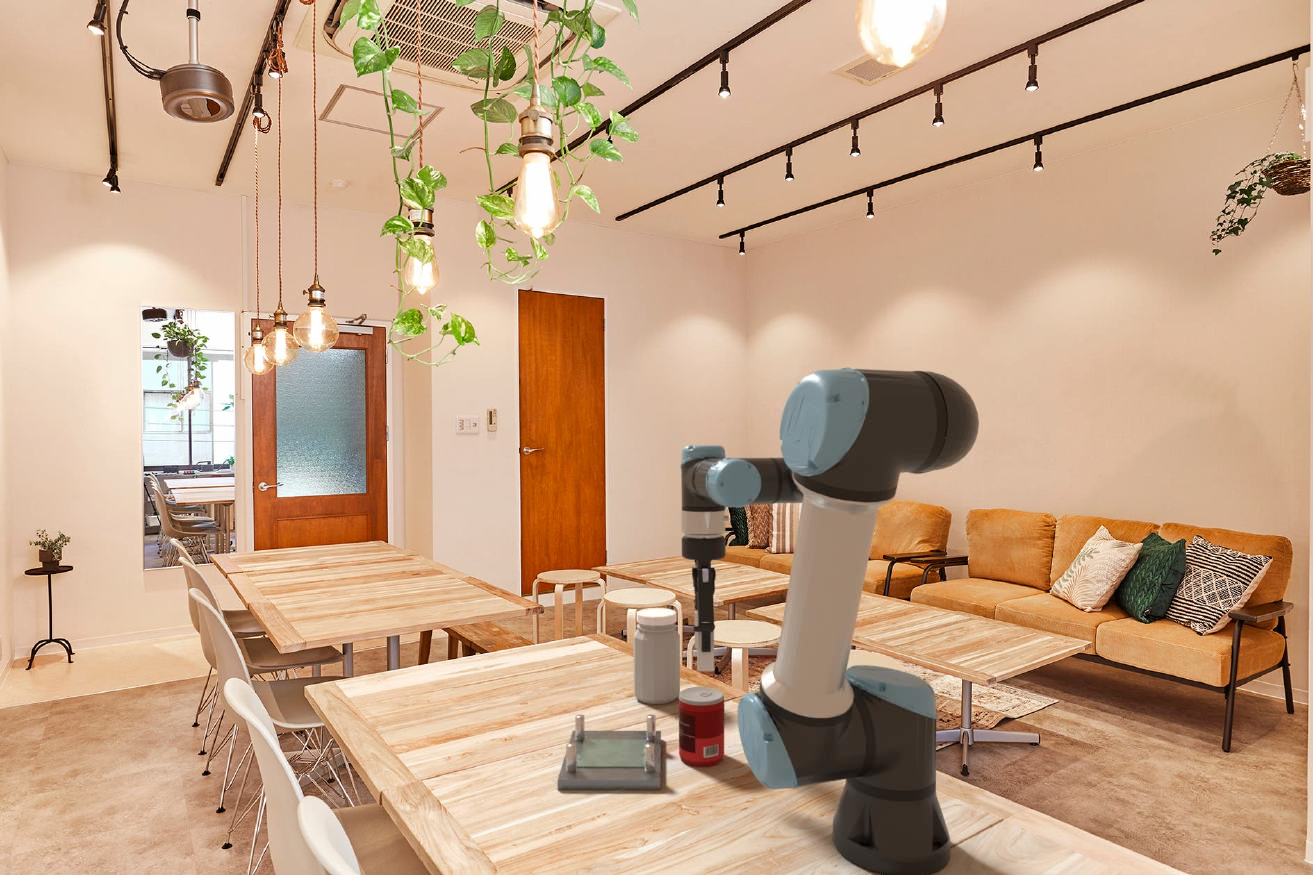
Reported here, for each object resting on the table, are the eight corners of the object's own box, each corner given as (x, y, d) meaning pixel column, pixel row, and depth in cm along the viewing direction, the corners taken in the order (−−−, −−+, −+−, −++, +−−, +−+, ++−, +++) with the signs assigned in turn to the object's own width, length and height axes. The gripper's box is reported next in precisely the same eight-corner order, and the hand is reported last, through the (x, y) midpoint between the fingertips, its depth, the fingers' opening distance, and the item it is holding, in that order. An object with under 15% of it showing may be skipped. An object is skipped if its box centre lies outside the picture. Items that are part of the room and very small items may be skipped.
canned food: (730, 752, 134) (730, 689, 134) (714, 771, 127) (714, 704, 127) (689, 745, 137) (689, 683, 137) (671, 762, 130) (671, 697, 130)
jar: (626, 693, 165) (626, 609, 165) (668, 687, 169) (668, 605, 168) (644, 708, 156) (643, 619, 156) (687, 701, 160) (687, 614, 160)
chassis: (660, 789, 120) (660, 754, 120) (557, 789, 120) (557, 754, 120) (660, 738, 140) (660, 708, 140) (572, 738, 140) (572, 708, 140)
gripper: (731, 545, 120) (731, 681, 120) (720, 526, 145) (721, 639, 145) (682, 545, 120) (683, 681, 120) (680, 526, 145) (681, 639, 145)
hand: (703, 658), depth 133 cm, fingers open, 13 cm apart
